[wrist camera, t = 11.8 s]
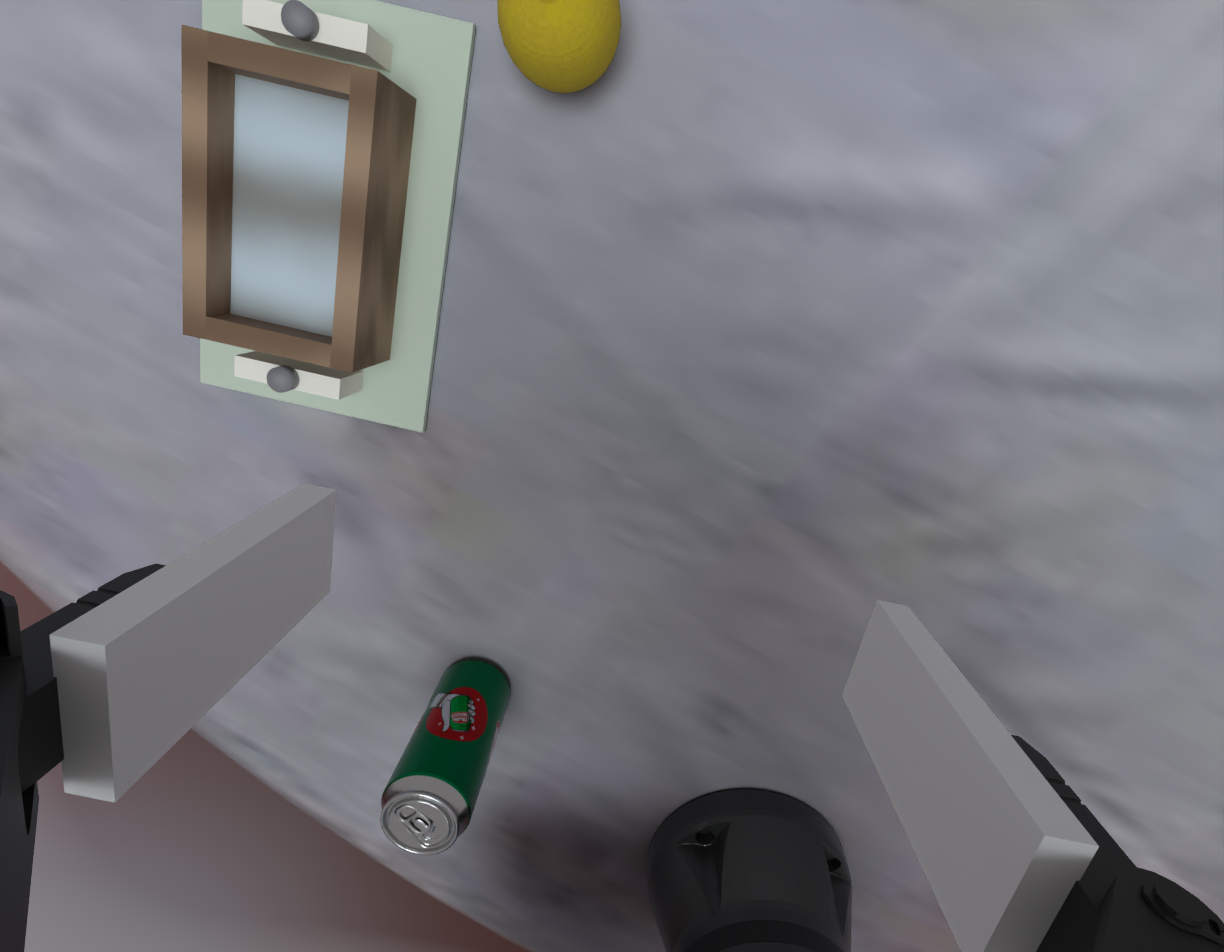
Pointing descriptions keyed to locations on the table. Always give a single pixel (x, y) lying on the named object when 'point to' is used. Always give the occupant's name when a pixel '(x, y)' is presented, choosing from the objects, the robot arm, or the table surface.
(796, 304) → the table surface
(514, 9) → the lemon
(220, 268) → the brown wooden open box
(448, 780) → the soda can
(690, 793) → the table surface
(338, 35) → the wall board
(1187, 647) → the table surface
